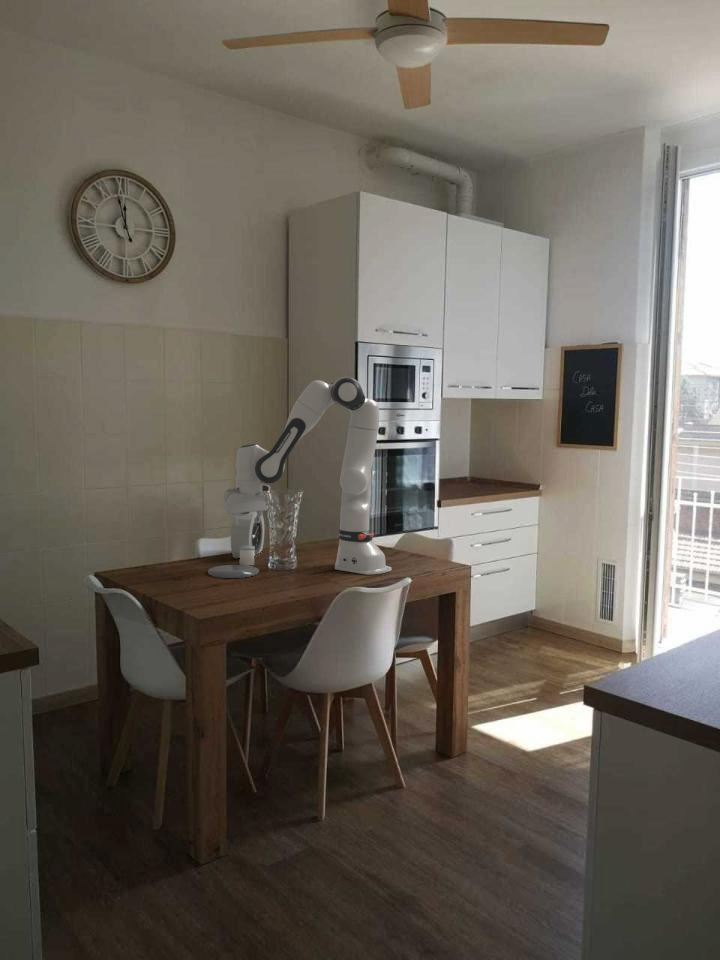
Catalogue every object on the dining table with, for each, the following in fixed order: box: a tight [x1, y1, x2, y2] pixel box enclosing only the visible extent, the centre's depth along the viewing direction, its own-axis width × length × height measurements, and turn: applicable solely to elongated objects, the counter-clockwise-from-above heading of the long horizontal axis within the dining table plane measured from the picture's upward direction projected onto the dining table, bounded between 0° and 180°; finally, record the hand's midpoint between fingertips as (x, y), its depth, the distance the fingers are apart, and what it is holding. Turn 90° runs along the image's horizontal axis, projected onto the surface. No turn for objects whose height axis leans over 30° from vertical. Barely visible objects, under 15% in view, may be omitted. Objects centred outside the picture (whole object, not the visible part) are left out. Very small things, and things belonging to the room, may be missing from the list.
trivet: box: [207, 564, 260, 579], centre depth 275 cm, size 18×18×1 cm
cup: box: [239, 545, 255, 566], centre depth 289 cm, size 6×6×7 cm
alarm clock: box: [230, 511, 265, 559], centre depth 306 cm, size 21×8×20 cm, turn 171°
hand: (247, 523), depth 288 cm, fingers open, 8 cm apart
